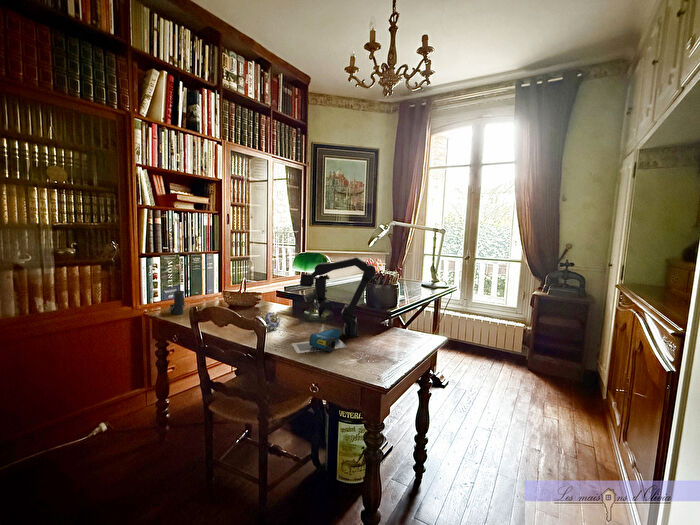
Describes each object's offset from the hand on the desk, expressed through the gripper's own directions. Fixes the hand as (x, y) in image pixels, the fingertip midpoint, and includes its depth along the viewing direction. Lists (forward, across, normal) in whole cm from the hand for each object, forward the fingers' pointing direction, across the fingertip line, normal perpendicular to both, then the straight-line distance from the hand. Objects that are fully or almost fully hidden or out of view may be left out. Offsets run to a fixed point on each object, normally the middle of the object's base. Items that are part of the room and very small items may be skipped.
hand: (319, 316), depth 166 cm
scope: (+9, -58, -71) cm, 92 cm away
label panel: (+9, +16, -5) cm, 19 cm away
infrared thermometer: (+9, +16, 0) cm, 18 cm away
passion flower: (+9, -15, -23) cm, 29 cm away
